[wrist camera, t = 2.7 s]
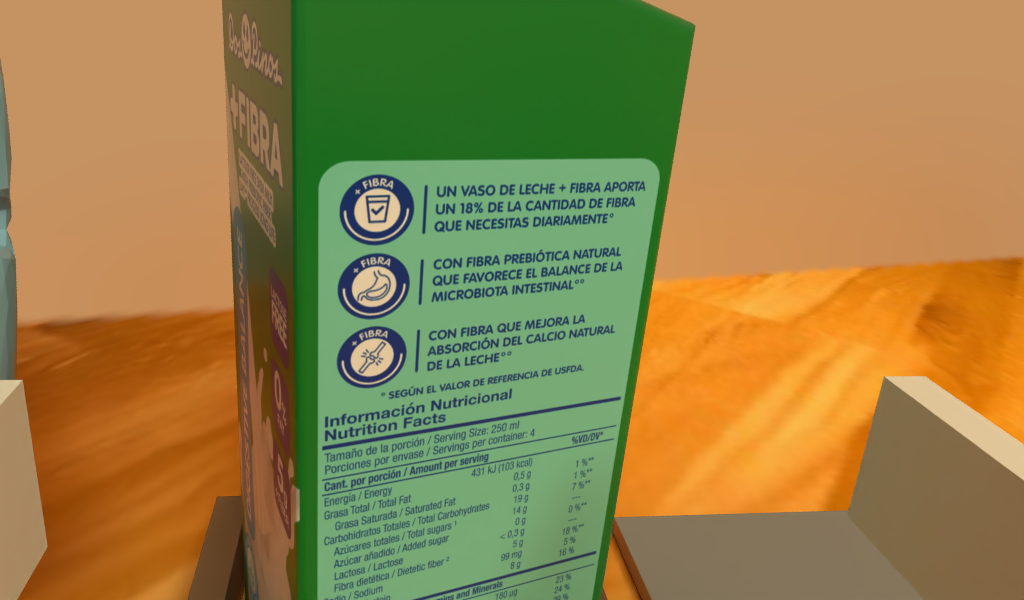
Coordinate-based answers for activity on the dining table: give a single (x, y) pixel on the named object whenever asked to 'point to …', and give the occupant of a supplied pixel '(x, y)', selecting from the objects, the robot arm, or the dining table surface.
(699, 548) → the slate coaster
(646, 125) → the milk carton
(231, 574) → the frame
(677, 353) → the dining table surface
